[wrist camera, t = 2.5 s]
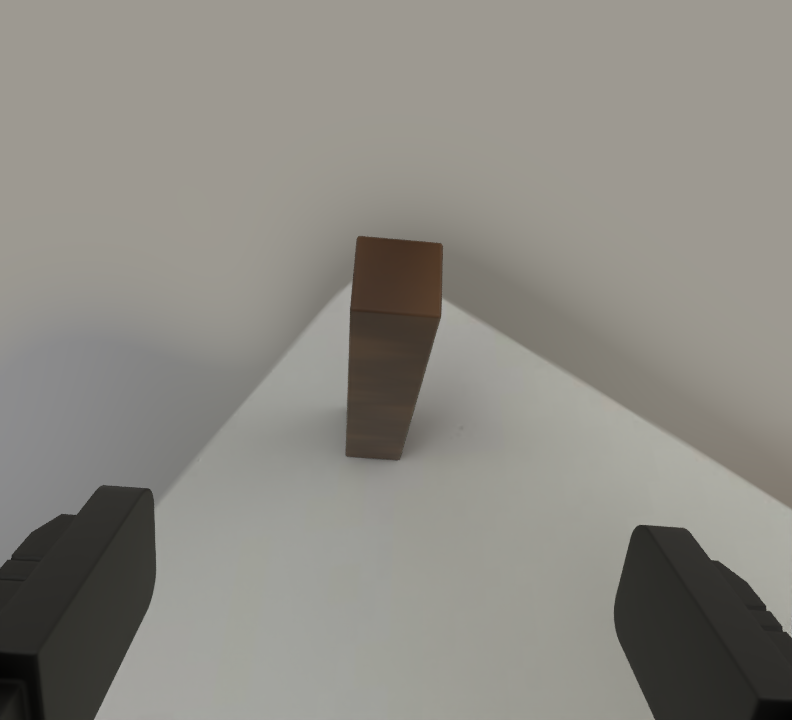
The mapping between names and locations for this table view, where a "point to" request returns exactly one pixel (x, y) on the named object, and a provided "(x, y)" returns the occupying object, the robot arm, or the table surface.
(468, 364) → the table surface
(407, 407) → the stick
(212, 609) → the table surface
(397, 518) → the table surface
